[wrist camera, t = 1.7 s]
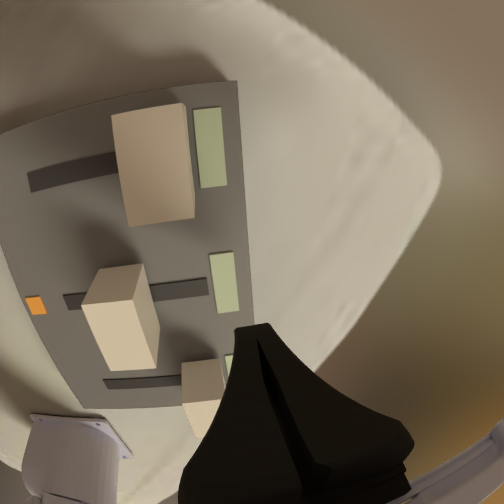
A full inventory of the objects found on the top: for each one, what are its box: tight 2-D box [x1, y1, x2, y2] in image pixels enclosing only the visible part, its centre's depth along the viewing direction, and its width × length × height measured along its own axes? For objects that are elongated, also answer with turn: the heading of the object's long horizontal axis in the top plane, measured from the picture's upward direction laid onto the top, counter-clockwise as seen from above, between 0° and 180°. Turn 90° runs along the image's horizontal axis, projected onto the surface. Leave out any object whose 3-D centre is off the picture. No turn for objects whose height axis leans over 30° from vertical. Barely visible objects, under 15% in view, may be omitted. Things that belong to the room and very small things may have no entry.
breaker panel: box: [0, 81, 254, 409], centre depth 16 cm, size 14×20×2 cm
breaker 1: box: [111, 103, 195, 227], centre depth 11 cm, size 2×4×3 cm, turn 3°
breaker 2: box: [181, 358, 226, 438], centre depth 17 cm, size 2×4×3 cm, turn 3°
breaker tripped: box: [81, 263, 160, 371], centre depth 14 cm, size 2×4×3 cm, turn 3°
